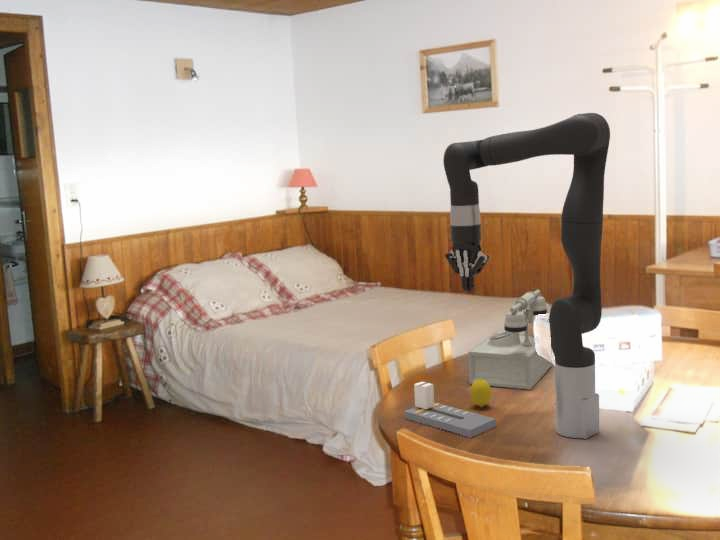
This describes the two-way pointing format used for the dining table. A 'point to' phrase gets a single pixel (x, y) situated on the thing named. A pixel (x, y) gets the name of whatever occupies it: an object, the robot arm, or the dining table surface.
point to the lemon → (480, 392)
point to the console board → (451, 419)
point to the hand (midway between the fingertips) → (468, 290)
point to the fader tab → (424, 395)
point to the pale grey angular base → (511, 349)
